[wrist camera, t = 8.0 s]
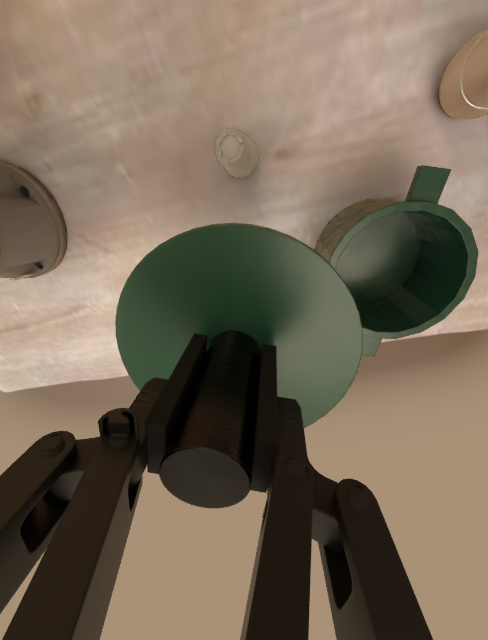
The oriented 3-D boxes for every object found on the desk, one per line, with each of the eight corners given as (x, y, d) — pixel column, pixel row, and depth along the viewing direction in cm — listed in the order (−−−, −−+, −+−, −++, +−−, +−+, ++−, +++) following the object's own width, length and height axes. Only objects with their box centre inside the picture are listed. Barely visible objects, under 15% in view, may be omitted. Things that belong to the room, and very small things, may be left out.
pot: (299, 312, 40) (305, 347, 31) (335, 165, 32) (358, 154, 23) (392, 328, 39) (427, 368, 30) (454, 182, 31) (526, 178, 22)
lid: (132, 410, 21) (40, 553, 13) (114, 203, 14) (-96, 222, 6) (323, 442, 20) (357, 612, 12) (394, 242, 14) (569, 318, 6)
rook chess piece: (217, 141, 32) (199, 126, 25) (253, 128, 31) (246, 109, 24) (227, 182, 34) (214, 180, 26) (262, 171, 33) (259, 166, 26)
